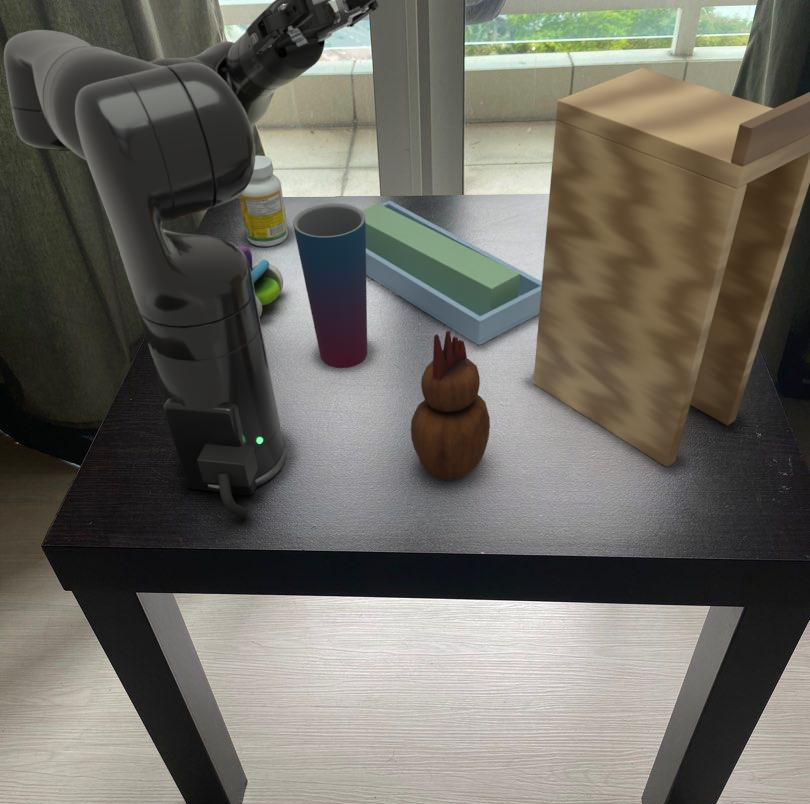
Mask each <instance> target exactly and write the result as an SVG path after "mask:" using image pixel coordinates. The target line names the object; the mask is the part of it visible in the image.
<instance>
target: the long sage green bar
mask: <svg viewBox="0 0 810 804" xmlns="http://www.w3.org/2000/svg"><path fill="white" fill-rule="evenodd" d="M380 204H381V203H376V204H373V205H371V206H368V207H366V208H364V209H360V210H361V211H362V212H363V213H364V215H365V228H366V249H368V250H370V251H371V252H373V253H375V254H376V255H378V256H380V257H381V258H383V259H385V260H386V261H388V262H390V263H391V264H393V265H395V266H396V267H398V268H400V269H401V270H403V271H405V272H407V273H408V274H410V275H412V276H413V277H415V278H417V279H418V280H420V281H422V282H423V283H425V284H427V285H428V286H430V287H432V288H433V289H435V290H437V291H438V292H440V293H442V294H443V295H445V296H447V297H448V298H450V299H452V300H453V301H455V302H457V303H458V304H460V305H462V306H464V307H466V308H467V309H469V310H471V311H473V312H475V313H476V314H478V315H480V316H482V315H484V314H486V313H488V312H490V311H492V310H494V309H496V308H498V307H500V306H502V305H504V304H506V303H508V302H510V301H512V300H514V299H516V298H518V295H519V279H520V274H519V273H517V272H515V271H513V270H511V269H509V268H507V267H505V266H503V265H501V264H499V263H497V262H495V261H493V260H491V259H489V258H487V257H485V256H483V255H481V254H479V253H477V252H475V251H473V250H471V249H469V248H467V247H465V246H463V245H461V244H459V243H457V242H455V241H453V240H451V239H449V238H447V237H445V236H443V235H441V234H439V233H437V232H435V231H433V230H431V229H429V228H427V227H425V226H423V225H421V224H419V223H417V222H415V221H413V220H411V219H409V218H407V217H405V216H403V215H401V214H399V213H397V212H395V211H393V210H391V209H388V208H386V207H384V206H382V205H380Z"/></svg>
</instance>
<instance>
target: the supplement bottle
mask: <svg viewBox="0 0 810 804" xmlns="http://www.w3.org/2000/svg"><path fill="white" fill-rule="evenodd" d="M238 199H239V203H240V210H241V214H242V220H243V226H244V230H245V235H246V239H247V240H248V242H249V243H250V244H251V245H254V246H257V247H272V246H273V247H274V246H277V245H279V244H281V243H283V242H284V241H285V240H286V239H287V237H288V236H289V231H288V223H287V217H286V211H285V204H284V196H283V189H282V184H281V180H280V178H279V177H278V176H277V175H276V174H274V166H273V160H272V158H271V157H269V156H266V155H255V166H254V172H253V175H252V178H251V181H250V183H249V184H248V186H247V188H246V189H245V190H244V191H243V192H242V193H241V194H240V195H239V196H238Z"/></svg>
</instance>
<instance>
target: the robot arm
mask: <svg viewBox="0 0 810 804" xmlns="http://www.w3.org/2000/svg"><path fill="white" fill-rule="evenodd" d="M331 1H332V0H274V1H272V2H271V3H270V5H269V6H268V7H266V9H264V11H262V13H260V14H259V15H258V16H257V17H256V18H255V19H254V20H253V21H252V22H250V24H249V26H248V27H247V28H246V30H245V32H244V33H243V34H242V35H241V36H239V38H238V39H237V40H235V42H233V41H228V40H227V41H221V42H217V43H215V44H213V45H211V46H209V47H207V48H206V49H204V50H203V51H202V52H200V53H199V54H197V55H193V56H190V57H165V58H163V57H162V58H157V59H154V60H151V61H147V60H143V59H139V58H137V57H133V56H129V55H125V54H124V53H121V52H118V51H115V50H111V49H108V48H105V47H101V46H95V45H92V44H91V43H89V42H87V41H86V40H84V39H82V38H80V37H78V36H75V35H72V34H70V33H66V32H62V31H57V30H49V29H33V30H28V31H24V32H20V33H17V34H15V35H14V36H12V37H10V38H9V39H8V40H7V42H6V43H5V46H4V50H3V65H4V71H5V77H6V78H5V79H6V84H7V91H8V96H9V103H10V106H11V107H10V108H11V114H12V118H13V123H14V127H15V131H16V133H17V135H18V137H19V139H20V140H21V141H22V142H23V143H24V144H26V145H28V146H31V147H32V148H37V149H40V150H47V151H55V152H73V154H75V155H76V156H77V157H78V158H81V160H84V161H85V162H86V163H87V166H88V169H89V171H90V174H91V176H92V179H93V182H94V185H95V188H96V190H97V192H98V195H99V197H100V200H101V203H102V205H103V209H104V211H105V213H106V216H107V219H108V222H109V225H110V227H111V231H112V233H113V236H114V237H113V238H114V239H115V243H116V247H117V250H118V252H119V255H120V258H121V261H122V265H123V268H124V270H125V271H124V272H125V274H126V276H127V279H128V283H129V286H130V290H131V292H132V296H133V300H134V302H135V306H136V309H137V311H138V312H137V313H138V315H139V319H140V322H141V324H142V328H143V331H144V334H145V338H146V341H147V345H148V348H149V351H150V355H151V359H152V361H153V365H154V367H155V372H156V374H157V377H158V381H159V384H160V387H161V390H162V394H163V396H164V400H165V403H164V404H163V412H164V415H165V419H166V422H167V424H168V427H169V430H170V434H171V438H172V441H173V445H174V447H175V450H176V453H177V457H178V460H179V463H180V466H181V469H182V473H183V475H184V480H185V482H186V486H187V488H188V489H190V490H195V491H205V492H214V493H219V494H220V498H221V501H222V503H223V506H224V507H225V509H226V510H227V511H228V512H229V514H232V515H234V516H236V517H238V518H239V519H243V518H245V517H246V516H247V515H248V510H247V509H246V508H245V507H244V506H242V505H240V504H238V503H237V502H236V501H235V500H234V496H233V495H242V496H252V495H254V493H255V490H256V489H257V488H258V487H260V486H261V485H264V484H265V483H267V482H268V481H270V480H271V479H272V478H274V477H275V476H276V475H277V474H278V473H279V472H280V470H282V468H283V466H284V464H285V461H286V458H287V449H286V444H285V443H286V442H285V439H284V438H283V434H282V429H281V428H282V427H281V423H280V417H279V413H278V408H277V403H276V397H275V391H274V386H273V382H272V376H271V370H270V365H269V360H268V356H267V350H266V344H265V339H264V333H263V328H262V324H261V318H260V317H261V316H259V311H258V306H257V301H256V295H255V290H254V285H253V280H252V274H251V269H250V265H249V262H248V260H247V258H246V256H245V254H244V253H243V252H242V251H241V250H240V249H239V248H238V245H236V244H235V243H232V242H231V241H229V240H226V239H223V238H220V237H217V236H211V235H204V234H197V233H195V234H192V233H185V232H177V231H172V230H168V229H165V228H164V226H163V225H164V223H166V222H169V221H172V220H176V219H179V218H183V217H187V216H190V215H193V214H198V213H200V212H203V211H204V212H205V211H207V210H210V209H214V208H217V207H220V206H223V205H225V204H227V203H231V201H233V200H235V199H237V198H239V195H240V194H241V193H242V192H243V191H244V190H245V189H246V188H247V186H248V184H249V183H250V181H251V178H252V175H253V172H254V166H255V156H256V144H255V137H254V133H253V126H255V125H256V124H258V123H259V121H260V120H261V119H262V118H263V117H264V116H265V115H266V112H267V110H268V109H269V107H270V104H271V101H272V99H273V96H274V94H275V92H276V91H277V90H278V89H280V88H281V87H284V86H286V85H288V84H290V83H291V82H293V81H295V80H296V79H297V78H299V77H300V76H301V75H303V74H304V73H305V72H307V71H308V70H309V69H311V68H312V67H314V66H315V65H316V64H317V63H318V62H319V61H320V59H321V57H322V55H323V52H324V49H325V42H326V40H327V39H329V38H331V37H332V35H333V34H334V33H335V32H338V31H340V30H341V29H343V28H345V27H346V28H349V27H350V28H352V27H354V26H355V25H356V24H357V23H358V22H361V21H362V20H363V19H364V18H366V17H367V16H369V15H370V14H371V13H373V12H375V11H376V10H377V9H378V8H379V3H378V1H377V0H334V1H335V4H336V6H337V10H335V9H334V7H333V6H332V5H331V3H330V2H331Z"/></svg>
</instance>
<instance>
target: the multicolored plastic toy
mask: <svg viewBox="0 0 810 804" xmlns="http://www.w3.org/2000/svg"><path fill="white" fill-rule="evenodd" d="M237 247H238V248H239V249H240V250H241V251H242V252H243V253H244V254H245V256H246V258H247V260H248V262H249V265H250V269H251V274H252V280H253V285H254V290H255V295H256V301H257V306H258V311H259V316H260V317H261V316H262V313H263V306H265V305H268V304H271V303H272V302H274V301H275V300H277V299H278V297H279V296H280V294H281V292H282V290H283V287H284V278H283V275H282V272H281V271H280V270H279V268H278V267H276V266H275V265H273V264H271V263H270V262H269V261H268V260H267V259H262V260H260V262H259V263H258V264H255V265H254V266H253V255H252V251H251V250H250V249H249V248H248V247H247V246H245V245H239V246H238V245H237Z"/></svg>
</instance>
